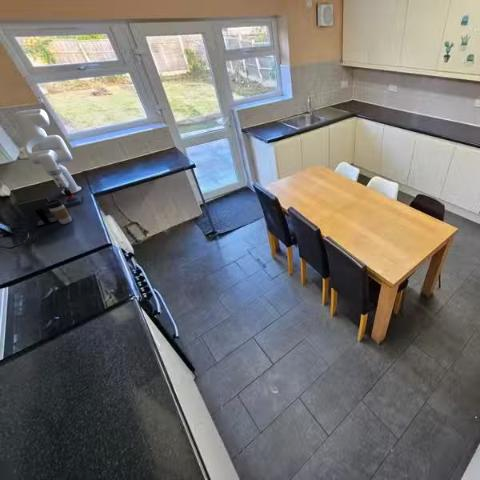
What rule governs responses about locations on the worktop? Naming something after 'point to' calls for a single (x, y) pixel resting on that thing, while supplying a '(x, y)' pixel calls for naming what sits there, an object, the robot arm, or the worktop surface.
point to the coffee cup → (59, 211)
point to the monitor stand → (45, 218)
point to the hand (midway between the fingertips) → (69, 195)
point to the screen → (34, 206)
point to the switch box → (73, 201)
